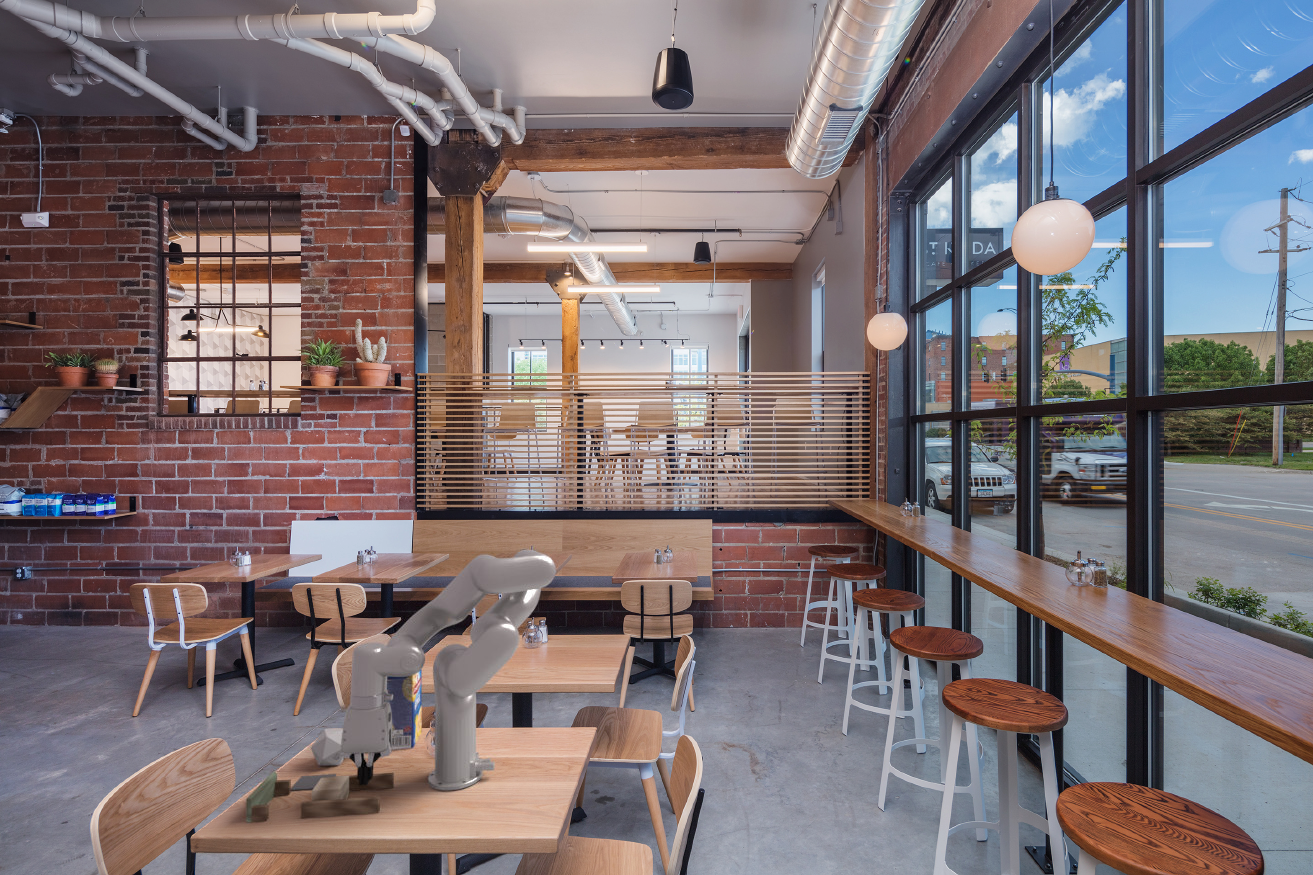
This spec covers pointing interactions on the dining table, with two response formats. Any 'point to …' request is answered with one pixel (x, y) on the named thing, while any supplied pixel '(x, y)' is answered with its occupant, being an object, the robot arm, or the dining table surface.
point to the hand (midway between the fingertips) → (364, 782)
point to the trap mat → (308, 782)
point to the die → (328, 748)
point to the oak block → (331, 788)
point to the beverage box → (405, 710)
